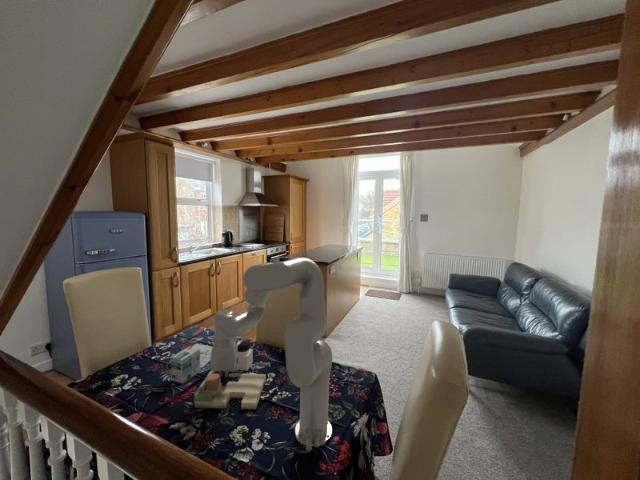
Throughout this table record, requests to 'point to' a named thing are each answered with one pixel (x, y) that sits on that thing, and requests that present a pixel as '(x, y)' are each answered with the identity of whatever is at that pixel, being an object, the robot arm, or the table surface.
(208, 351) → the white patterned board
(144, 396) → the table surface
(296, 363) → the robot arm
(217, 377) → the block
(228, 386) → the trap deck
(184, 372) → the light bulb box
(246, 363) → the medicine bottle
